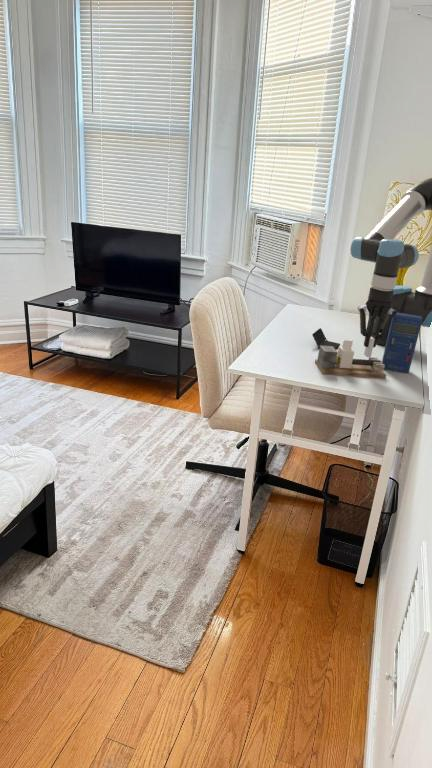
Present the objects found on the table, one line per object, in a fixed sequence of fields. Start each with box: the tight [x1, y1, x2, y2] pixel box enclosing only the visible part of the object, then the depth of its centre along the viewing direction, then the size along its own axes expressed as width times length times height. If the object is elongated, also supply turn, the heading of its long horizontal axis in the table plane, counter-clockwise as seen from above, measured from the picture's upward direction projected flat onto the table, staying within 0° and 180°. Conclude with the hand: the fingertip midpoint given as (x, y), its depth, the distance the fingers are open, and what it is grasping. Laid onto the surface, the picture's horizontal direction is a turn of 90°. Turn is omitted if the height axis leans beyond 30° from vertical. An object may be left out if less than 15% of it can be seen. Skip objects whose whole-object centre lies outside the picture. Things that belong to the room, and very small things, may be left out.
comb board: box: [314, 346, 387, 379], centre depth 181 cm, size 22×11×7 cm, turn 94°
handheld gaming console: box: [311, 327, 341, 351], centre depth 205 cm, size 12×7×10 cm
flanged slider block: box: [337, 339, 355, 369], centre depth 180 cm, size 4×5×9 cm
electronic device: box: [381, 313, 423, 374], centre depth 184 cm, size 10×5×20 cm, turn 75°
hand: (367, 355), depth 181 cm, fingers closed
